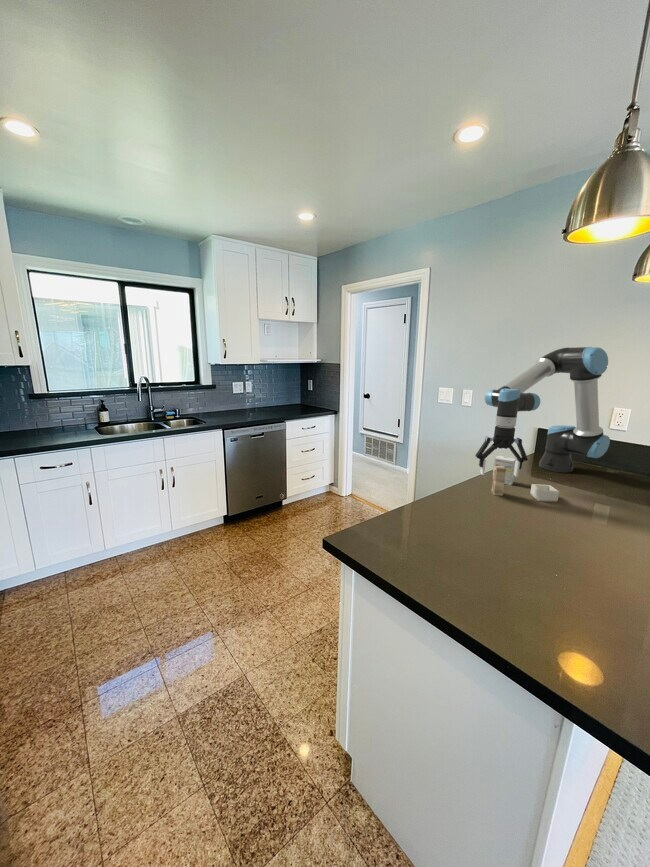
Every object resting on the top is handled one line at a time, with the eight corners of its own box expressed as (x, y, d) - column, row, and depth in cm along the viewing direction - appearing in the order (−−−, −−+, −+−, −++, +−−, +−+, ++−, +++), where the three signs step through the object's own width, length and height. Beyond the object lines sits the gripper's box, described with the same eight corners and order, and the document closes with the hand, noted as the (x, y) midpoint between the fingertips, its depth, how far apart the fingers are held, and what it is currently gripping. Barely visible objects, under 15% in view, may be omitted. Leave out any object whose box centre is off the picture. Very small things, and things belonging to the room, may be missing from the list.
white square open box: (530, 494, 151) (531, 484, 150) (548, 495, 150) (550, 485, 149) (538, 500, 144) (539, 490, 143) (557, 501, 143) (559, 491, 142)
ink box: (491, 481, 166) (494, 457, 164) (494, 478, 170) (496, 455, 168) (511, 485, 161) (514, 460, 159) (513, 482, 165) (516, 458, 162)
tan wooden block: (491, 492, 153) (494, 465, 150) (499, 492, 153) (502, 466, 150) (494, 495, 150) (497, 468, 147) (502, 495, 149) (506, 468, 147)
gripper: (476, 426, 143) (470, 476, 147) (541, 429, 140) (533, 479, 144) (471, 423, 150) (466, 470, 154) (533, 425, 147) (525, 473, 151)
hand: (498, 475), depth 149 cm, fingers open, 13 cm apart
